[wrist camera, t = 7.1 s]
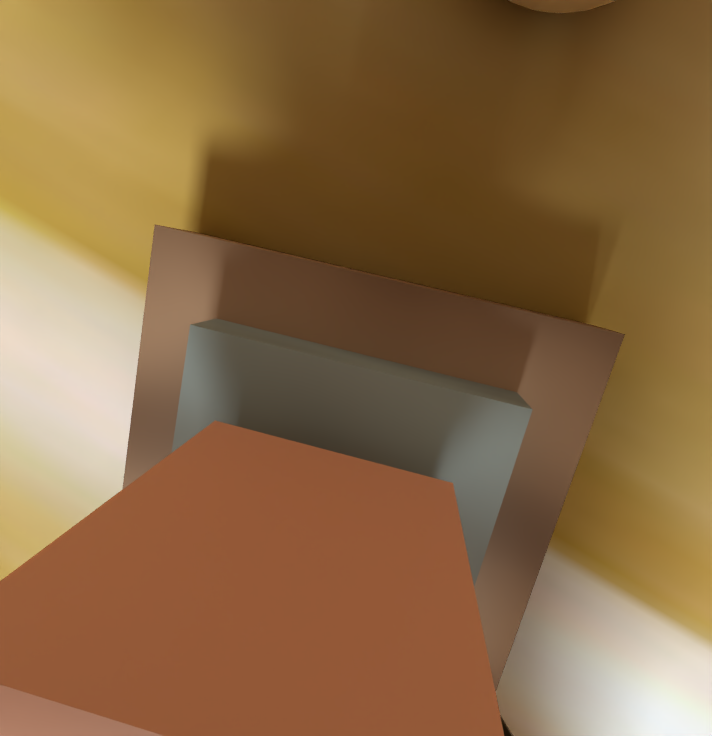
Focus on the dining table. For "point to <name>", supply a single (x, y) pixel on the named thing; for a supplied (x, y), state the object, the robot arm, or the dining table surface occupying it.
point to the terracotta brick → (251, 604)
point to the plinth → (394, 332)
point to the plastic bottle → (561, 5)
